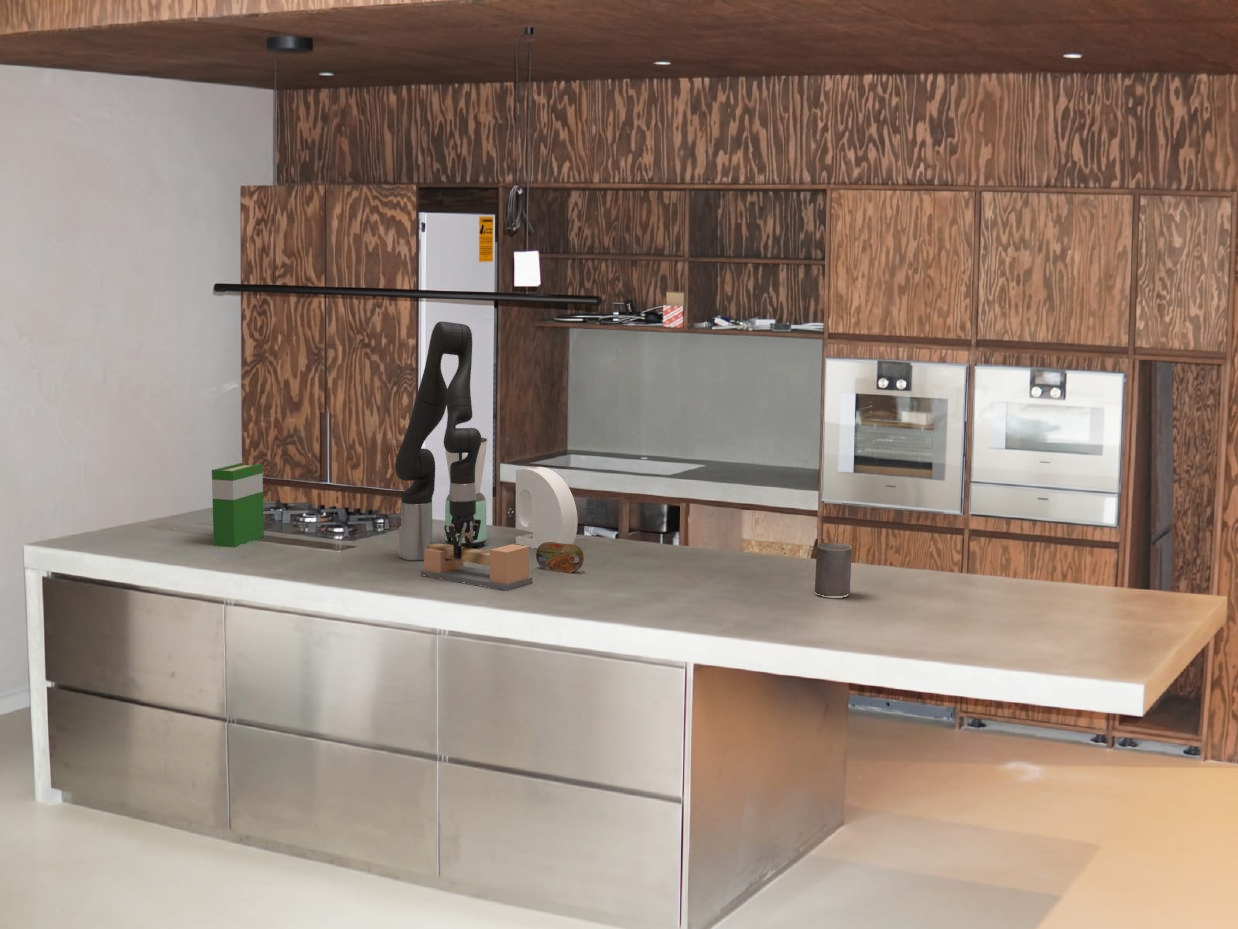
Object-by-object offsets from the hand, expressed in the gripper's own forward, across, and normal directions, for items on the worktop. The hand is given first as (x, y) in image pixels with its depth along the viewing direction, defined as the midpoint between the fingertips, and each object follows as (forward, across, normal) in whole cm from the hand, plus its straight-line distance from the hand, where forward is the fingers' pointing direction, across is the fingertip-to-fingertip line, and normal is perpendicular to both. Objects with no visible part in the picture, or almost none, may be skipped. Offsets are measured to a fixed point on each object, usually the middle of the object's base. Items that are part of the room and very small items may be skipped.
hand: (462, 557), depth 402 cm
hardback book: (+6, +3, -90) cm, 90 cm away
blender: (+6, -35, -28) cm, 45 cm away
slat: (+1, 0, 0) cm, 1 cm away
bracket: (+6, -48, -6) cm, 49 cm away
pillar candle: (+6, -44, +95) cm, 105 cm away
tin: (+6, -24, +17) cm, 30 cm away
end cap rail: (+6, 0, +5) cm, 8 cm away
